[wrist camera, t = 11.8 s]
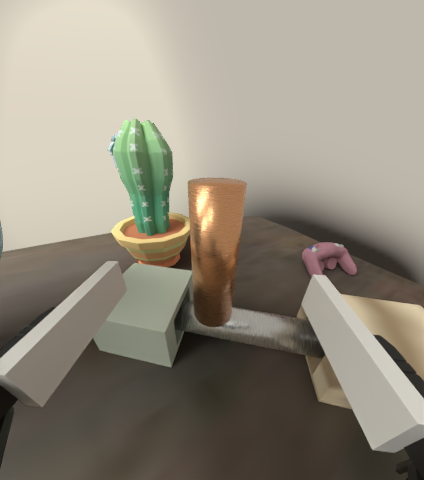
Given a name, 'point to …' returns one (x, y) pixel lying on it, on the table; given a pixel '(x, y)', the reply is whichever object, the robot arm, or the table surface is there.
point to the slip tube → (230, 277)
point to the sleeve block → (379, 323)
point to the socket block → (147, 315)
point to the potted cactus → (148, 195)
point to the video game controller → (327, 258)
